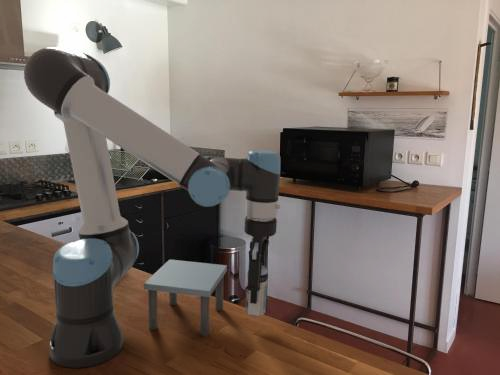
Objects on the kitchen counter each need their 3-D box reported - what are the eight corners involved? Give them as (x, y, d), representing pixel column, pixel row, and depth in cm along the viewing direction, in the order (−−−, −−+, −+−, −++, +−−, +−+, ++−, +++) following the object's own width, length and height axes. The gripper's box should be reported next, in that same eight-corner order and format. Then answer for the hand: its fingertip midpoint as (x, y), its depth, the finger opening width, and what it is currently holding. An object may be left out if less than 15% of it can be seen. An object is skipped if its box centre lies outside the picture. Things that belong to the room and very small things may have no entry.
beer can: (243, 309, 107) (245, 264, 104) (261, 307, 108) (264, 262, 106) (248, 319, 102) (251, 271, 100) (267, 317, 104) (270, 270, 101)
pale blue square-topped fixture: (208, 338, 100) (209, 291, 98) (144, 330, 103) (143, 283, 101) (226, 307, 115) (226, 265, 113) (169, 300, 118) (169, 259, 116)
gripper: (271, 229, 91) (264, 329, 96) (281, 209, 108) (275, 295, 113) (236, 225, 92) (232, 324, 97) (252, 206, 109) (247, 291, 114)
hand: (255, 308), depth 105 cm, fingers closed on beer can, 5 cm apart
